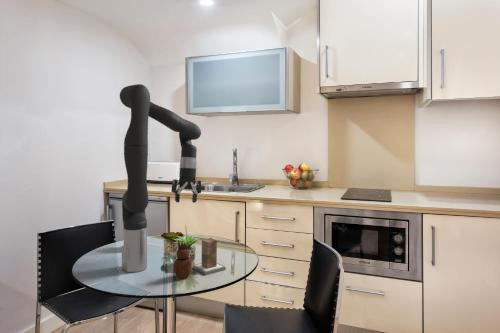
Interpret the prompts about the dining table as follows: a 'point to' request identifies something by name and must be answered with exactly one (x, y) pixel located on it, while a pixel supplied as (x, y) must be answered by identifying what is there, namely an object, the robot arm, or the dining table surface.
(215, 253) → the walnut block
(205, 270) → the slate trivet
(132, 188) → the robot arm
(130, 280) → the dining table surface
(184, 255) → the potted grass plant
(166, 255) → the dining table surface
